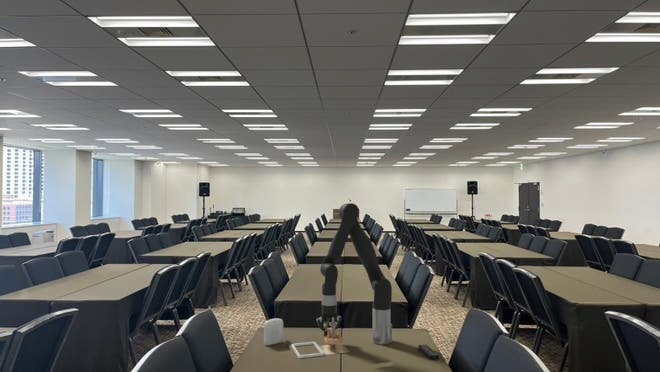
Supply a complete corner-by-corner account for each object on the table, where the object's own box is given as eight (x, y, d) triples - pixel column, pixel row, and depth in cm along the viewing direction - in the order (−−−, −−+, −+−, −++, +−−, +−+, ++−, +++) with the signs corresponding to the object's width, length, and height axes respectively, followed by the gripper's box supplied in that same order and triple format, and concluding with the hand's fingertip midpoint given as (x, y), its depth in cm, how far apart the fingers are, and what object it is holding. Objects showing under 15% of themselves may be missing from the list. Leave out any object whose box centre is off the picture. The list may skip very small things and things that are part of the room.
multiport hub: (426, 349, 204) (426, 344, 204) (439, 360, 190) (439, 355, 190) (418, 349, 203) (418, 344, 203) (430, 360, 189) (430, 355, 189)
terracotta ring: (336, 335, 210) (336, 327, 210) (344, 343, 198) (344, 334, 198) (320, 336, 207) (320, 328, 207) (328, 345, 195) (328, 336, 195)
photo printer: (280, 340, 215) (280, 316, 215) (284, 342, 211) (284, 318, 212) (262, 343, 209) (262, 319, 210) (265, 346, 206) (266, 321, 206)
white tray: (314, 346, 206) (314, 341, 206) (324, 358, 190) (324, 353, 190) (291, 349, 202) (291, 344, 202) (298, 361, 187) (298, 356, 187)
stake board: (341, 346, 206) (341, 318, 207) (350, 355, 195) (350, 325, 195) (318, 348, 203) (318, 320, 203) (325, 357, 191) (325, 328, 192)
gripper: (339, 300, 213) (340, 334, 212) (313, 302, 209) (314, 337, 208) (344, 303, 206) (345, 338, 205) (317, 306, 202) (318, 341, 201)
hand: (329, 337), depth 207 cm, fingers closed on terracotta ring, 3 cm apart
